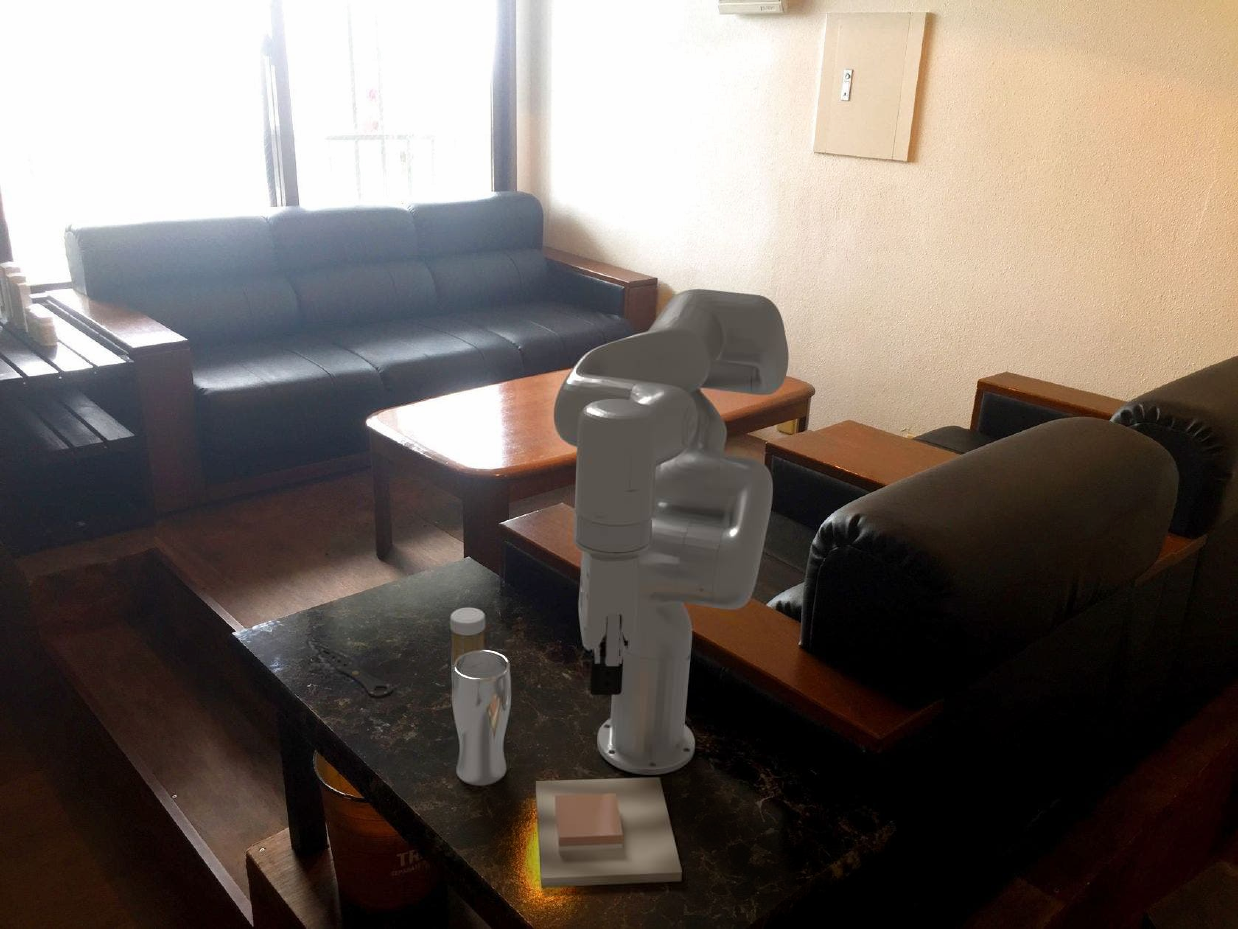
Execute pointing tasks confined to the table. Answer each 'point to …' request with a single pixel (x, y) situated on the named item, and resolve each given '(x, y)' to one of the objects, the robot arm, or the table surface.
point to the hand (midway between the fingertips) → (605, 690)
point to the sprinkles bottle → (466, 633)
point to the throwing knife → (349, 669)
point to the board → (642, 826)
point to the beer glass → (481, 714)
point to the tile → (588, 822)
